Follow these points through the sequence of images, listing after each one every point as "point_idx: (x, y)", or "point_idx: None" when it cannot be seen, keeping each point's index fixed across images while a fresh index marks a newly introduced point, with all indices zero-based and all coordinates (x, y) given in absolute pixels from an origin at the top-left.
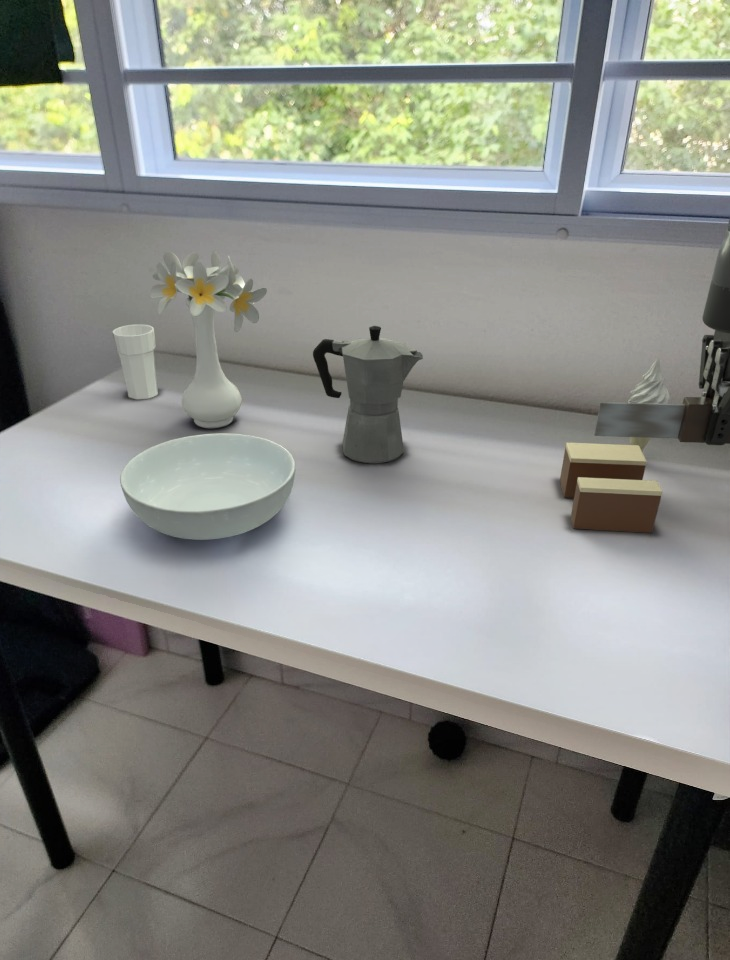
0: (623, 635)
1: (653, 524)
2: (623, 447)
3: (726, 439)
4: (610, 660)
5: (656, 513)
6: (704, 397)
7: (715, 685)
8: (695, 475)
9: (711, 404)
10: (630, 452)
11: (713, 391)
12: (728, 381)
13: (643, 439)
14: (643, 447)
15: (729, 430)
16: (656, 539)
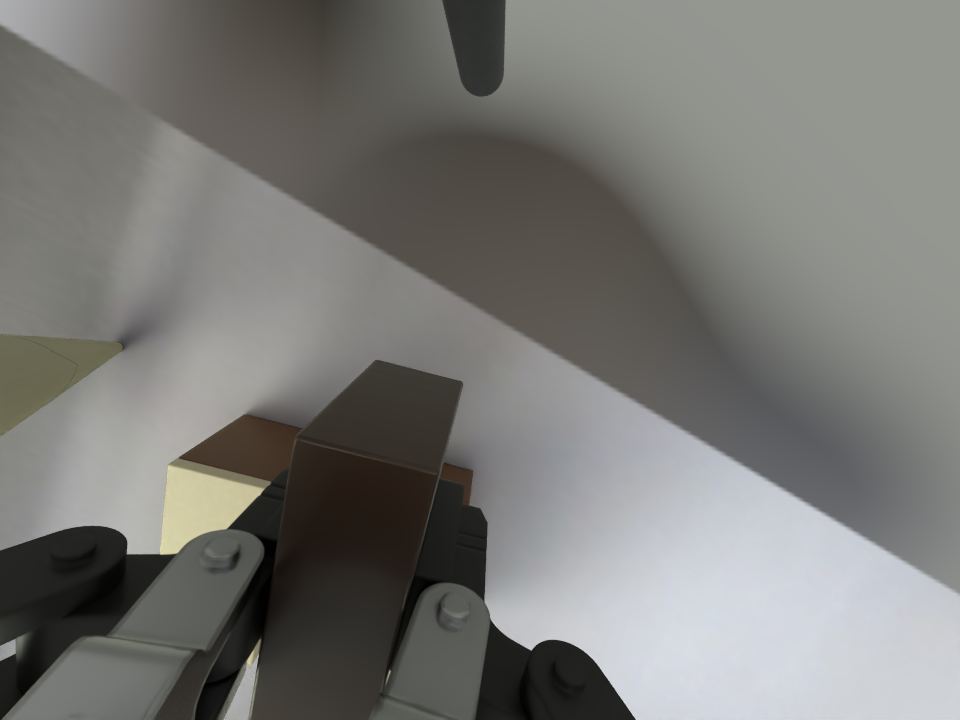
0: (774, 660)
1: (471, 483)
2: (184, 514)
3: (461, 493)
4: (824, 701)
5: (469, 499)
6: (256, 689)
7: (935, 591)
8: (196, 219)
9: (371, 710)
10: (219, 510)
11: (214, 668)
12: (189, 707)
13: (70, 371)
14: (89, 352)
15: (458, 518)
16: (498, 472)
